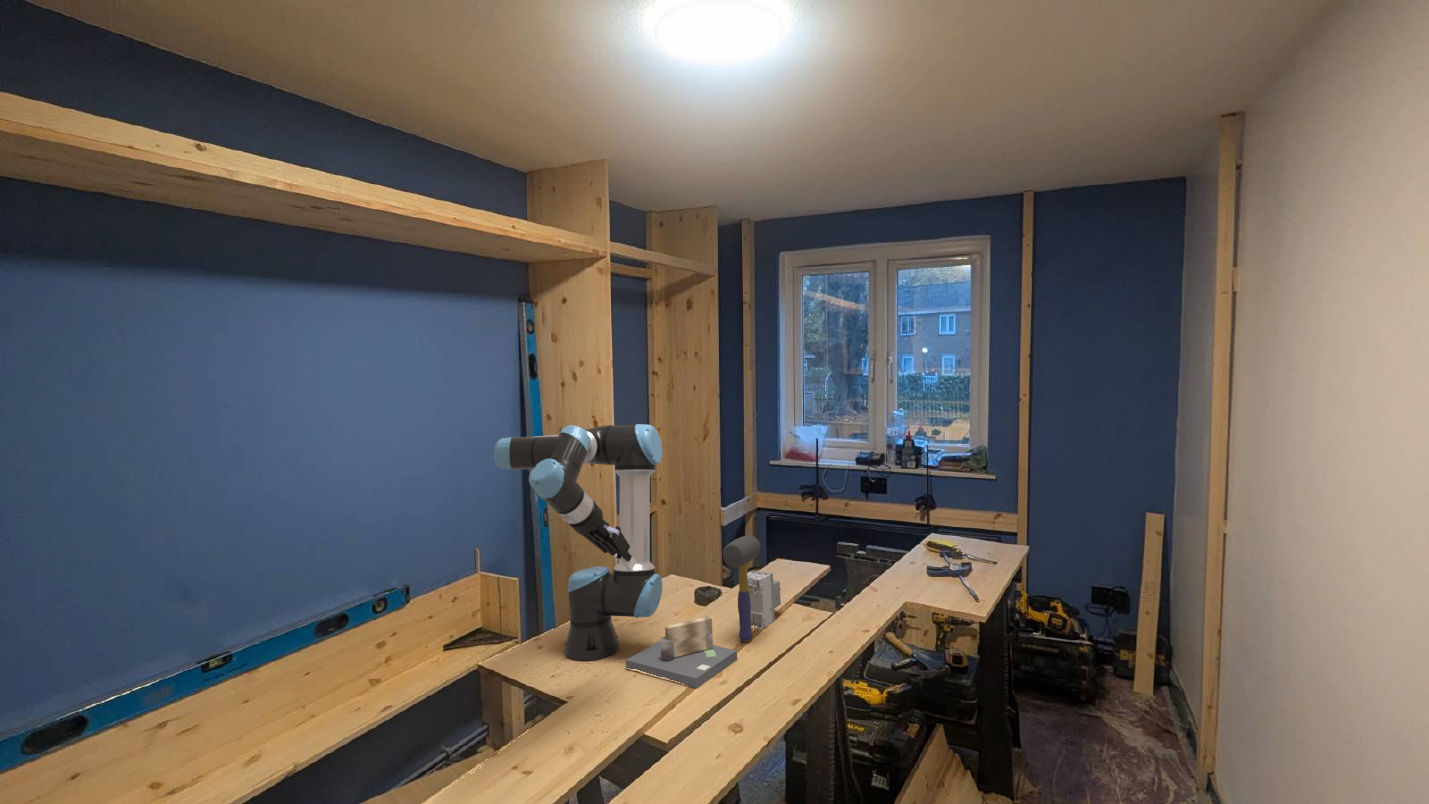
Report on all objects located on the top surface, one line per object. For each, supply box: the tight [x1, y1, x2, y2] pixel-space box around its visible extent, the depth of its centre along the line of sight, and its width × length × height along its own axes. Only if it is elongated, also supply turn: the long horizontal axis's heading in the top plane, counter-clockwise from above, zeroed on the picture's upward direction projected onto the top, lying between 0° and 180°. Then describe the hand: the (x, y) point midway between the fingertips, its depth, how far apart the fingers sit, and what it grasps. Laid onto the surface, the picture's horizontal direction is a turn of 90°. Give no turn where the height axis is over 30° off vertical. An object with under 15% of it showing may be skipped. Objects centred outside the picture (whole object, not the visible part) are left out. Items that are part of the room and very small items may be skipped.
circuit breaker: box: [747, 570, 782, 630], centre depth 201 cm, size 8×14×15 cm, turn 148°
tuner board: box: [625, 640, 738, 689], centre depth 171 cm, size 23×19×2 cm
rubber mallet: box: [722, 535, 761, 643], centre depth 185 cm, size 12×8×30 cm, turn 151°
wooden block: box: [659, 616, 714, 660], centre depth 172 cm, size 15×4×8 cm, turn 117°
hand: (632, 565), depth 160 cm, fingers closed
